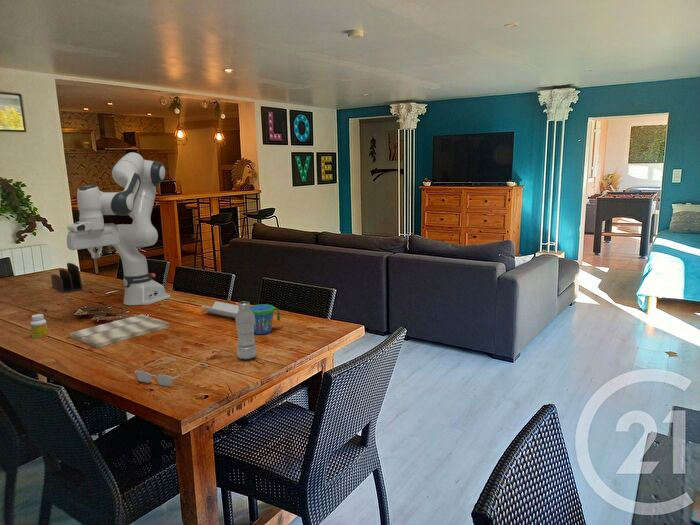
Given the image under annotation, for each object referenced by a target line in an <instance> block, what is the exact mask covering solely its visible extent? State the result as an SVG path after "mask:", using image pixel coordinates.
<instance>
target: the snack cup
mask: <svg viewBox="0 0 700 525" xmlns="http://www.w3.org/2000/svg"><path fill="white" fill-rule="evenodd" d="M250 310H251V311H252V312H253V314H254V316H255V322H254V334H256V335H265V334H269V333H271V331H272V328H273V319H274V312H275V310H276V311H277V318H276V320H277V322H280V321H281V313H280V310H279V308H277V307H275V306H274V305H272V304H268V303H267V304H265V303H264V304H263V303H261V304H254V305H250Z"/></svg>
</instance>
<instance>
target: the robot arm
mask: <svg viewBox="0 0 700 525" xmlns="http://www.w3.org/2000/svg"><path fill="white" fill-rule="evenodd" d="M111 176H112V179H113V180H114V182H115V183H116V184H117V185H118V186H120V187H121V188H124V190H121V191H116V192H115V191H114V192H107V191H106V192H104V191H101V190H100V189H99V186H97V185H96V184H87V185H82V186H79V187H78V188H77V191H76V202H77V209H78V212H79V217H78V218H79V221H75V222H74V223H72V224H69V225H68V226H67V230H68V233H67V234H66V246H67V249H69V250H71V251H76V250H85V249H87V251H88V252H89V254H90V255H91V259H96V258H101V253H102V251H103V247H106V246H107V247H108V246H112V247H114V249H115V250H116V251H117V253H118V255H119V257H120V260H121V264H122V270H123V276H122V278H123V280H122V281H123V286H124V296H123V303H122V304H123V305H127V306H140V305H141V306H142V305H143V306H144V305H147V306H148V305H152V304H155V303H158V302H162V301H164V300H168V299H171V297H172V296H171V294H170V293H167V291H166V288H165V287H164V285H163V284H161V283H159V282H157V281H156V280H154V279H153V278H155V277H156V273H153V272H152V273H150V272H149V268H148V261H147V258H146V256H145V255H144V254H143V253H141V252H140V251H139V250H138V248H145V247H146V248H147V247H150V246H151V247H152V246H154V245H155V244H156V243H157V241H158V240H159V239H158V238H159V234H158V230H157V229H156V228H155V227H154V225H153V223H152V220H151V218H152V217H151V216H152V212H153V207H154V203H155V199H156V192H157V187H158V186H159V185H160V184H161V183H162V182H163V181H164V180H165V177H166V168H165V165H164V164H163V162H160V161H156V160H155V161H154V160H149V159H148V160H147V159H144V158H143V156H142V155H141V154H140V153H137V152H134V151H132V152H128V153H126V154H125V155H124V156H122V157H121V158H120V159H118V161H117V162H116V163H115V165H114V166H113V168H112V170H111ZM104 216H121V217H122V216H124V217H125V216H129V217H130V218H131V219H132V223H131V224H128V223H126V224H125V223H121V224H115V223H114V222H110V223H109V222H108V223H105V222H104ZM137 247H138V248H137ZM94 248H96V249H97V251H96V253H95V252H94Z"/></svg>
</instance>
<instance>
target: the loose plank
mask: <svg viewBox="0 0 700 525" xmlns="http://www.w3.org/2000/svg"><path fill="white" fill-rule="evenodd" d="M151 318H152V319H149V320H145V321H141V322H137V323H134V324H130V325H126V326H123V327H119V328H115V329H111V330H108V331H104V332H100V333H96V334H93V335H89V336H85V337H82V338H81V340H82V341H81V342H82V343H83V344H84V343H85V344H87V345H89V346H91V347H93V348H97V349H98V348H102V347H105V346H107V345H111V344H115V343H118V342H123V341H125V340H128V339H129V340H130V339H132V338H135V337H139V336H142V335H145V334H149V333H153V332H155V331H161V330H163V329H167V328H170V327H171V323H170V322H167V321H164V320H161V319H157V318H155V317H151Z"/></svg>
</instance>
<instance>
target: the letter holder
mask: <svg viewBox="0 0 700 525" xmlns="http://www.w3.org/2000/svg"><path fill="white" fill-rule="evenodd" d="M66 269H67V270H66ZM66 269H64V268H60V269H59V272H58V273H59V275H58V274H53V273H52V274H51V276H50V278H51V286H52V288H53V290H56V291H58V292H60V293H62V294H66V293H67V294H68V293H73V292H78V291H79V292H80V291H83V284H82V278H81V274H80V272H81V271H80V268H79V266H78V265H76V264H74V263H71V262H67V263H66Z"/></svg>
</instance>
